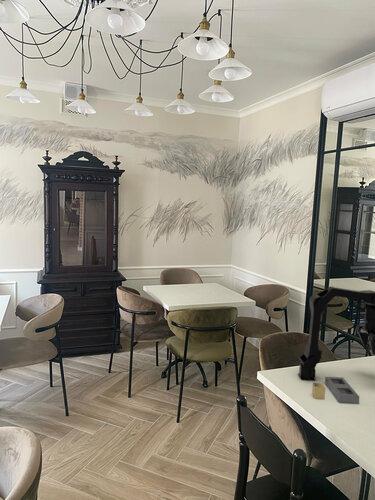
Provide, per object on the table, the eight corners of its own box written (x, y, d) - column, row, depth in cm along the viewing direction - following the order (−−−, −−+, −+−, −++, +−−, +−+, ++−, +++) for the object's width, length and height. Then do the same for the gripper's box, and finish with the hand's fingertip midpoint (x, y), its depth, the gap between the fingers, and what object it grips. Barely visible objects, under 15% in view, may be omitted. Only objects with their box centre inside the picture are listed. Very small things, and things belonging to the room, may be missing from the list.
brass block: (314, 398, 149) (315, 387, 148) (312, 394, 153) (312, 382, 152) (324, 399, 148) (325, 387, 148) (321, 394, 152) (322, 383, 152)
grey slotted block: (338, 402, 145) (339, 395, 145) (324, 382, 163) (325, 376, 163) (358, 403, 145) (359, 396, 145) (342, 383, 163) (342, 377, 163)
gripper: (400, 324, 155) (397, 359, 156) (380, 313, 173) (377, 344, 175) (374, 323, 156) (371, 358, 157) (356, 312, 174) (354, 343, 175)
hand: (369, 350), depth 166 cm, fingers open, 9 cm apart
